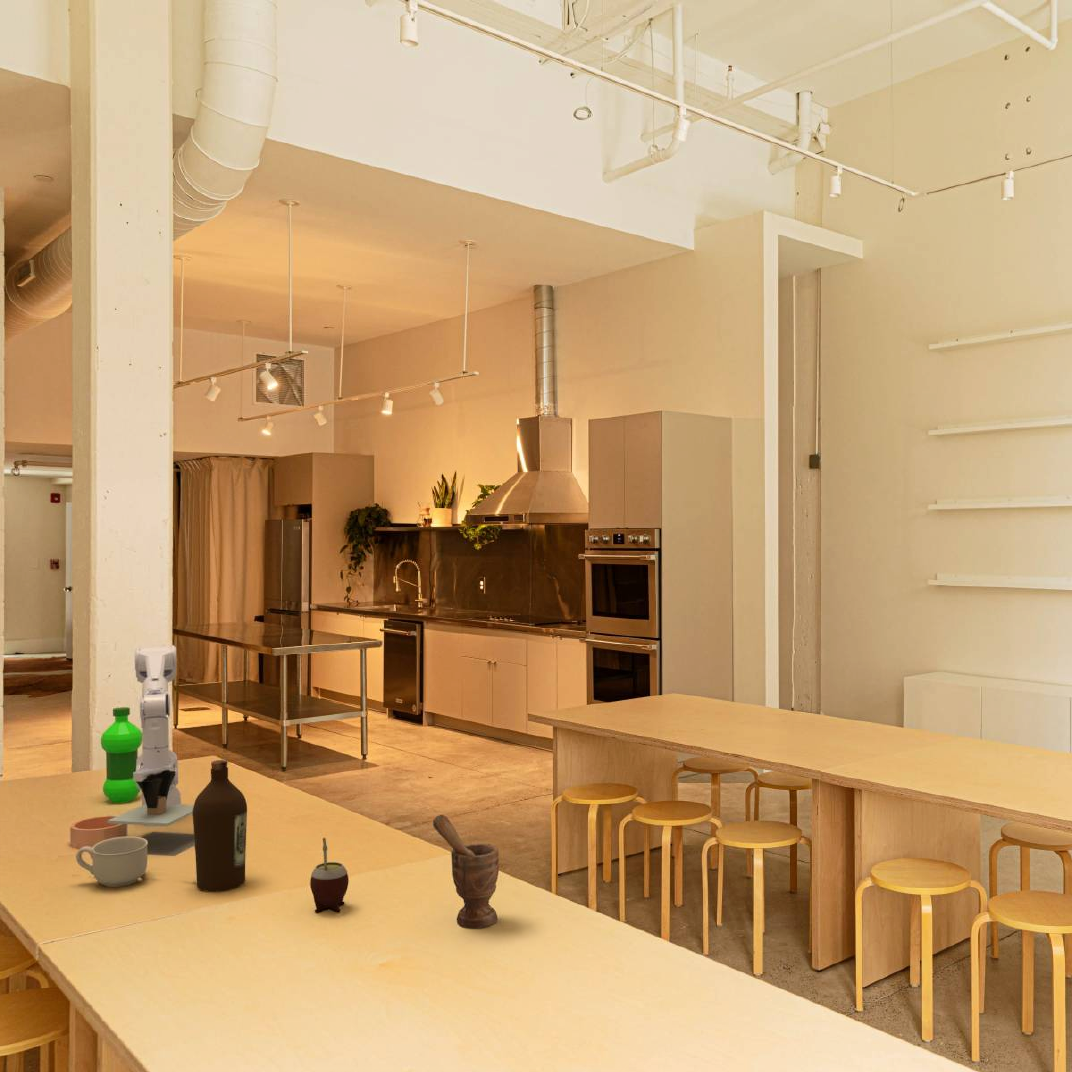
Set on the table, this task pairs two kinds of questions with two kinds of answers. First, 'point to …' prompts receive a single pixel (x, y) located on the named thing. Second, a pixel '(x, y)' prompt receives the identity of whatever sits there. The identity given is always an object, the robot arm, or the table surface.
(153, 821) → the lid
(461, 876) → the mortar and pestle
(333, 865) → the mate gourd
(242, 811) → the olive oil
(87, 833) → the bowl
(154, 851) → the mat
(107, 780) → the plastic bottle
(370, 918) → the table surface
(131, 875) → the teacup
